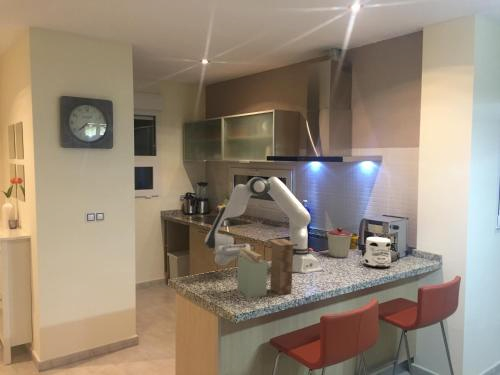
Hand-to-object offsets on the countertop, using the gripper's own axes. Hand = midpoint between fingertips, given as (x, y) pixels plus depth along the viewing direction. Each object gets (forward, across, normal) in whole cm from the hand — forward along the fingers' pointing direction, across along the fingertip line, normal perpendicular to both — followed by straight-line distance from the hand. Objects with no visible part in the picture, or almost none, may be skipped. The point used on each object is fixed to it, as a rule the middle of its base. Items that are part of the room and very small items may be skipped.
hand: (237, 245), depth 233 cm
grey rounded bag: (-22, +122, +11) cm, 125 cm away
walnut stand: (+10, +15, +29) cm, 34 cm away
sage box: (+7, 0, +28) cm, 28 cm away
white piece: (-11, +102, +17) cm, 104 cm away
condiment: (-54, +121, -7) cm, 133 cm away
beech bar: (+13, 0, +12) cm, 17 cm away
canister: (-38, +94, +2) cm, 102 cm away
